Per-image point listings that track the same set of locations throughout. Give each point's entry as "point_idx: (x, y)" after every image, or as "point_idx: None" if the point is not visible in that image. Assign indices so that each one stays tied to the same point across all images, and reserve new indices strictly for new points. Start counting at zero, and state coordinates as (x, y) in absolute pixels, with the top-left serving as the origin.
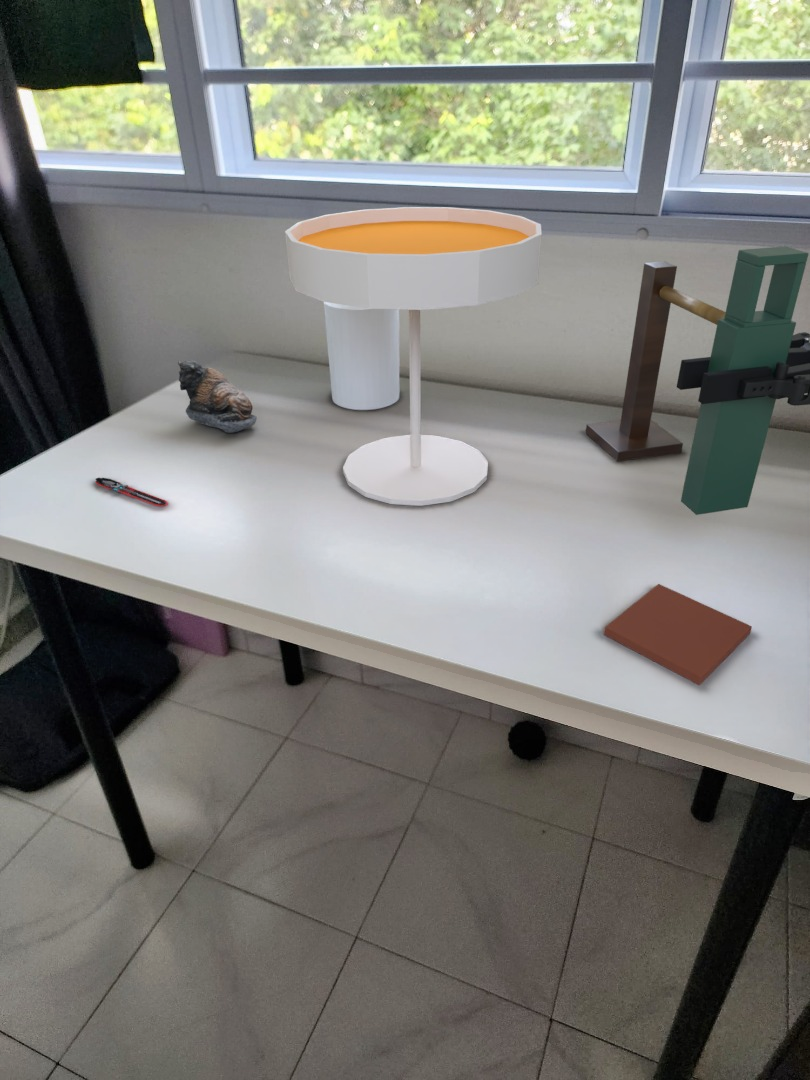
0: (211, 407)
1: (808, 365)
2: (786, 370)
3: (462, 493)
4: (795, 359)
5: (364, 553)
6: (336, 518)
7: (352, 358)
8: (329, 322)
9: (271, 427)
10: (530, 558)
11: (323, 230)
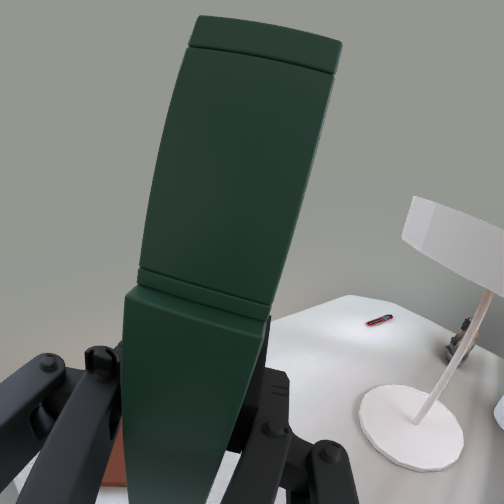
0: (455, 341)
1: (70, 458)
2: (87, 360)
3: (369, 437)
4: None
5: (302, 367)
6: (347, 371)
7: None
8: None
9: (459, 374)
10: None
11: None
